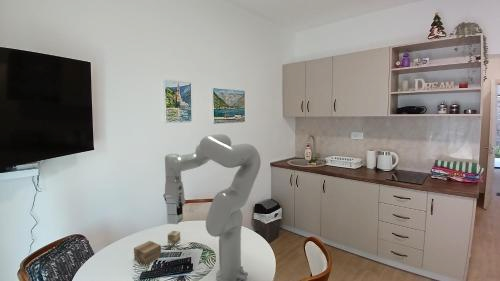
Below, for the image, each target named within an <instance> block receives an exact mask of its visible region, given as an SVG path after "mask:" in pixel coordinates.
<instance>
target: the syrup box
mask: <svg viewBox="0 0 500 281" xmlns="http://www.w3.org/2000/svg"><path fill="white" fill-rule="evenodd" d="M178 201H179V200H178ZM178 203H179V204H180V202H178ZM165 205H166V220H167V221H166V222H167V224H169V225H179V224H180V223H181V222H182V221H183V220H184V219H183V218H184V217H183V216H184V215H183V214H184V213H182V214H181V215H177V202H174V200H173V197H172V196H170V195H168V196H166V201H165Z"/></svg>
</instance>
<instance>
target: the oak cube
mask: <svg viewBox="0 0 500 281" xmlns="http://www.w3.org/2000/svg"><path fill="white" fill-rule="evenodd" d="M180 241H181V231H178V230H177V231H176V230H171V231H170V232H169V233H168V234H167V244H173V245H177V243H178V242H180Z"/></svg>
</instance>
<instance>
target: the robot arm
mask: <svg viewBox="0 0 500 281" xmlns="http://www.w3.org/2000/svg"><path fill="white" fill-rule="evenodd" d="M209 161H213V162H215V163H217V165H221V166H222V167H224V168H228V169H234V168H237V167H239V169H238V170H237V171H236V173H235V175H234V176H233V180H232V182H231V183H230V185H229V187H227V188H225V189H223V190H220V191H219V192H217V193H216V194H215V196H214V197H213V199H212V202H211V204H210V207H209V210H208V212H207V216H206V219H205V229H206V231H207V233H208V234H209V235H210V236H212V237H214V238H217V237H218V256H219V257H218V258H219V260H218V261H219V262H218V263H219V266H218V267H219V269H217V272H216V273H215V278H216V280H217V281H247V280H248V274H249V273H248V272H246V271H245V270H244V266H243V265H242V255H241V254H242V248H241V246H242V244H241V243H242V242H241V240H242V238H241V237H242V226H243V220H244V219H243V212H242V211H241V209H242V208H243V207H244V206H245V205H246V203H247V202H248V199H249V197H250V194H251V192H252V189H253V187H254V184H255V181H256V179H257V177H258V174H259V173H260V170H261V163H262V162H261V155H260V153H259V151H258V149H257V148H256V147H255V146H254V145H252V144H250V143H239V144H235V145H232V140H231V138H230V137H229V136H227V135H226V134H223V133H219V134H208V135H205V136H204V137H203V138H202V139H201V140H200V142H199V144H198V145H197V146H196V147H195V152H192V153H189V154H182V155H180V154H178V153H169V154H166V155H165V156H164V173H165V183H164V194H163V195H162V196H163V198H164V201H165V202H166V196H168V195H170V196H172V197H173V200H174V202H177V215H181V214H182V213H183V207H184V205H185V203H186V198H185V190H184V184H183V181H182V172H185V171H189V170H193V169H197V168H199V167H202V166H203V165H205V164H207V163H208V162H209ZM178 200H179V201H178ZM178 202H180V204H179V203H178ZM183 214H184V213H183Z"/></svg>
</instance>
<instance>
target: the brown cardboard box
mask: <svg viewBox="0 0 500 281" xmlns="http://www.w3.org/2000/svg"><path fill="white" fill-rule="evenodd" d="M133 256H134V257H133V258H134V261H137V262H138V263H141V264H143V266H146V265H149V264H150V263H152V262H154V261H156V260H158V259H160V258H162V245H161V244H159V243H156V242H154V241H151V240H148V241H146V242H144V243H141V244H139V245H137V246H135V247H133Z"/></svg>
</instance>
